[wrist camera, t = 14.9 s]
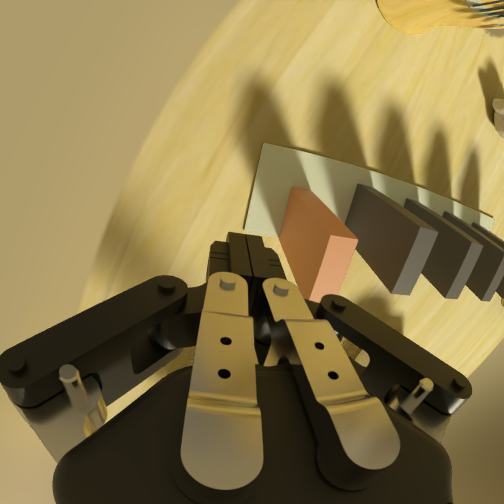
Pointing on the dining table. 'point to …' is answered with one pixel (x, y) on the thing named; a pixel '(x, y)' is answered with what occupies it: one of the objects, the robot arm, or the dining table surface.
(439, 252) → the domino
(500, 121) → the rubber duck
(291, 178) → the mat
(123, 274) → the dining table surface
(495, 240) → the domino
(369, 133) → the dining table surface
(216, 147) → the dining table surface
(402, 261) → the domino
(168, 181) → the dining table surface
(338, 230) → the domino
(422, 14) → the beer glass
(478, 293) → the domino
